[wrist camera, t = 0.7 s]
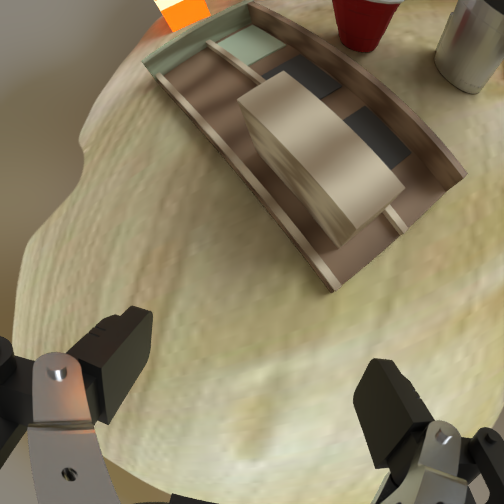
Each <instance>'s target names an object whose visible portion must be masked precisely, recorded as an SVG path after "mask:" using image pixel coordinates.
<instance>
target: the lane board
mask: <svg viewBox="0 0 504 504" xmlns="http://www.w3.org/2000/svg"><path fill="white" fill-rule="evenodd" d="M251 25H254V26H256V27H258V28H260V29H261V30H263V31H265V32H266V33H268V34H270V35H271V36H273V37H275V38H276V39H278V40H279V41H281V42H283V43H284V44H286V46H285V47H283V48H281V49H279V50H277V51H276V52H274V53H272V54H270V55H268V56H266V57H264V58H263V59H261V60H259V61H257V62H256V63H254V64H252V65H250V66H249V67H248V66H247V65H246V64H244V63H243V62H242V61H240V60H239V59H238V58H236V57H235V56H233V55H232V54H231V53H229V52H228V51H226V50H225V49H223V48H222V47H221V46H219V45H218V43H219V42H221V41H223V40H225V39H226V38H228V37H230V36H232V35H234V34H236V33H237V32H239V31H241V30H243V29H245V28H247V27H249V26H251ZM299 54H301V55H302V56H304V57H305V58H306V59H308V60H309V61H311V62H312V63H313V64H315V65H316V66H317V67H319V68H320V69H321V70H323V71H324V72H325V73H327V74H328V75H329V76H331V77H332V78H333V79H334V80H336V81H337V82H338V83H339V84H341V85H342V87H341V88H340V89H338V90H336V91H335V92H333V93H331V94H330V95H328V96H326V97H325V98H323V99H321V100H320V101H322V102H323V103H324V104H325V105H326V106H327V107H328V108H330V109H331V110H332V111H333V112H334V113H335V114H336V115H337V116H338V117H339V118H340V119H342V120H343V119H345V118H346V117H348V116H350V115H351V114H353V113H354V112H356V111H357V110H359V109H360V108H362V107H363V106H366V107H367V108H368V109H369V110H370V111H372V112H373V113H374V114H375V115H376V116H377V117H378V118H379V119H380V120H381V121H382V122H383V123H384V124H385V125H386V126H387V127H388V128H389V129H390V130H391V131H392V132H393V133H394V134H395V135H396V136H397V137H398V138H399V139H400V140H401V141H402V142H403V143H404V145H405V146H406V147H407V148H408V149H409V150H410V151H411V152H412V153H411V154H410V155H409V156H408V157H406V158H405V159H404V160H403V161H402V162H400V163H399V164H398V165H397V166H395V167H394V168H393V169H392V170H391V171H392V172H393V174H394V175H395V176H396V177H397V178H398V179H399V181H400V182H401V183H402V184H403V185H404V187H405V189H404V190H403V191H402V192H401V193H400V194H399V195H398V196H397V197H396V198H395V199H394V200H393V201H392V202H391V203H390V204H389V205H388V206H387V207H386V208H385V209H384V211H383V212H382V213H381V214H380V215H379V216H378V217H377V218H376V219H374V220H373V221H372V222H371V223H370V224H369V225H367V226H366V227H365V228H364V229H363V230H361V231H360V232H359V233H358V234H357V235H355V236H354V237H353V238H352V239H350V240H349V241H348V242H347V243H346V244H344V245H343V246H342V247H341V248H339V249H338V248H337V247H336V246H335V244H334V243H333V242H332V241H331V239H330V238H329V237H328V235H327V234H326V233H325V232H324V230H323V229H322V228H321V227H320V225H319V224H318V223H317V222H316V221H315V219H314V218H313V217H312V216H311V214H310V213H309V212H308V211H307V210H306V208H305V207H304V206H303V205H302V204H301V202H300V201H299V200H298V199H297V198H296V196H295V195H294V194H293V193H292V192H291V191H290V189H289V188H288V187H287V186H286V185H285V184H284V182H283V181H282V180H281V179H280V178H279V177H278V176H277V174H276V173H275V172H274V171H273V170H272V169H271V168H270V167H269V165H268V164H267V163H266V162H265V161H264V160H263V159H262V158H261V156H260V155H259V154H258V153H257V152H256V150H255V147H254V144H253V142H252V139H251V136H250V133H249V131H248V128H247V125H246V123H245V120H244V117H243V115H242V112H241V109H240V107H239V104H238V102H237V99H238V98H240V97H241V96H243V95H244V94H246V93H247V92H249V91H250V90H252V89H254V88H255V87H257V86H258V85H260V84H262V83H263V82H265V81H266V80H265V79H264V78H262V77H261V75H263V74H265V73H267V72H268V71H270V70H272V69H273V68H275V67H277V66H279V65H281V64H282V63H284V62H286V61H288V60H290V59H292V58H293V57H295V56H297V55H299ZM142 63H143V64H144V65H145V67H146V68H147V69H148V71H149V72H150V73H151V75H152V76H153V77H154V79H155V80H156V81H157V82H158V83H159V85H160V86H161V87H162V88H163V89H164V90H165V91H166V92H167V93H168V94H169V96H170V97H171V98H172V99H173V100H174V101H175V102H176V103H177V104H178V106H179V107H180V108H181V109H182V110H183V111H184V112H185V113H186V115H187V116H188V117H189V118H190V119H191V120H192V121H193V123H194V124H195V125H196V126H197V127H198V128H199V129H200V131H201V132H202V133H203V134H204V135H205V136H206V137H207V139H208V140H209V141H210V142H211V143H212V144H213V146H214V147H215V148H216V149H217V150H218V151H219V153H220V154H221V155H222V156H223V157H224V159H225V160H226V161H227V162H228V163H229V164H230V166H231V167H232V168H233V169H234V170H235V172H236V173H237V174H238V175H239V176H240V178H241V179H242V180H243V181H244V182H245V184H246V185H247V186H248V187H249V189H250V190H251V191H252V192H253V193H254V195H255V196H256V197H257V198H258V200H259V201H260V202H261V203H262V205H263V206H264V207H265V208H266V209H267V211H268V212H269V213H270V214H271V216H272V217H273V218H274V219H275V221H276V222H277V223H278V224H279V226H280V227H281V228H282V230H283V231H284V232H285V233H286V235H287V236H288V237H289V238H290V240H291V241H292V242H293V244H294V245H295V246H296V247H297V249H298V250H299V251H300V253H301V254H302V255H303V256H304V258H305V259H306V260H307V262H308V263H309V264H310V265H311V267H312V268H313V269H314V271H315V272H316V273H317V275H318V276H319V277H320V279H321V280H322V281H323V283H324V284H325V285H326V287H327V288H328V289H329V291H330V292H331V293H333V292H334V291H337V290H338V289H339V288H340V287H342V285H343V284H344V283H345V282H346V281H348V280H349V279H350V278H351V277H352V276H354V275H355V274H356V273H357V272H359V271H360V270H361V269H362V268H363V267H365V266H366V265H367V264H368V263H369V262H370V261H372V260H373V259H374V258H375V257H376V256H377V255H379V254H380V253H381V252H382V251H383V250H384V249H386V248H387V247H388V246H389V245H390V244H391V243H392V242H393V241H395V240H396V239H397V238H398V237H399V236H400V235H402V234H404V233H405V232H406V231H407V230H408V229H409V227H410V226H411V225H412V224H413V223H414V222H415V221H416V220H417V219H419V218H420V217H421V216H422V215H423V214H424V213H425V212H426V211H427V210H428V209H429V208H430V207H431V206H432V205H433V204H434V203H435V202H436V201H437V200H438V199H439V198H440V197H441V196H442V195H443V194H444V193H445V192H446V191H448V190H449V189H450V188H452V187H453V186H454V185H455V184H457V183H458V182H459V181H461V180H462V179H463V178H464V177H465V176H466V175H467V174H468V173H467V172H466V170H465V169H464V168H463V166H462V165H461V164H460V163H459V161H458V160H457V159H456V158H455V156H454V155H453V154H452V153H451V152H450V150H449V149H448V148H447V147H446V146H445V145H444V143H443V142H442V141H441V140H440V139H439V138H438V137H437V135H436V134H435V133H434V132H433V131H432V130H431V129H430V128H429V127H428V126H427V125H426V124H425V123H424V122H423V121H422V120H421V118H420V117H419V116H418V115H417V114H416V113H415V112H413V111H412V110H411V109H410V108H409V107H408V106H407V105H406V104H405V103H404V102H403V101H402V100H401V99H400V98H399V97H398V96H397V95H395V94H394V93H393V92H392V91H391V90H390V89H389V88H387V87H386V86H385V85H384V84H383V83H382V82H380V81H379V80H378V79H377V78H376V77H374V76H373V75H372V74H371V73H369V72H368V71H367V70H366V69H364V68H363V67H362V66H360V65H359V64H358V63H356V62H355V61H354V60H352V59H351V58H350V57H348V56H347V55H345V54H344V53H343V52H341V51H340V50H338V49H337V48H335V47H334V46H332V45H331V44H329V43H328V42H326V41H325V40H323V39H322V38H320V37H319V36H317V35H315V34H314V33H312V32H310V31H309V30H307V29H305V28H304V27H302V26H300V25H298V24H297V23H295V22H293V21H291V20H289V19H288V18H286V17H284V16H282V15H280V14H278V13H276V12H274V11H272V10H270V9H268V8H266V7H264V6H262V5H260V4H257V3H255V2H254V0H244V1H242V2H240V3H238V4H236V5H233V6H231V7H229V8H227V9H225V10H223V11H221V12H219V13H217V14H215V15H213V16H211V17H209V18H208V19H206V20H204V21H202V22H200V23H199V24H197V25H195V26H193V27H192V28H190V29H188V30H187V31H185V32H183V33H182V34H180V35H178V36H177V37H175V38H174V39H172V40H170V41H169V42H167V43H166V44H164V45H163V46H161V47H160V48H158V49H157V50H156V51H154V52H153V53H151V54H150V55H149V56H147V57H146V58H144V59H143V60H142Z"/></svg>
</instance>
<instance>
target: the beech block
mask: <svg viewBox="0 0 504 504" xmlns="http://www.w3.org/2000/svg"><path fill="white" fill-rule="evenodd" d="M237 102H238V104H239V107H240V109H241V112H242V115H243V117H244V120H245V123H246V125H247V128H248V131H249V133H250V136H251V139H252V142H253V144H254V147H255V150H256V152H257V153H258V154H259V155H260V156H261V158H262V159H263V160H264V161H265V162H266V163H267V164H268V165H269V167H270V168H271V169H272V170H273V171H274V172H275V173H276V174H277V176H278V177H279V178H280V179H281V180H282V181H283V182H284V184H285V185H286V186H287V187H288V188H289V189H290V191H291V192H292V193H293V194H294V195H295V196H296V198H297V199H298V200H299V201H300V202H301V204H302V205H303V206H304V207H305V208H306V210H307V211H308V212H309V213H310V214H311V216H312V217H313V218H314V219H315V221H316V222H317V223H318V224H319V225H320V227H321V228H322V229H323V230H324V232H325V233H326V234H327V235H328V237H329V238H330V239H331V241H332V242H333V243H334V244H335V246H336V247H337V248H338V249H339V248H341V247H342V246H343V245H344V244H346V243H347V242H348V241H349V240H350V239H352V238H353V237H354V236H355V235H357V234H358V233H359V232H360V231H361V230H363V229H364V228H365V227H366V226H367V225H369V224H370V223H371V222H372V221H373V220H374V219H376V218H377V217H378V216H379V215H380V214H381V213H382V212H383V211H384V209H385V208H386V207H387V206H388V205H389V204H390V203H391V202H392V201H393V200H394V199H395V198H396V197H397V196H398V195H399V194H400V193H401V192H402V191H403V190H404V189H405V187H404V185H403V184H402V183H401V182H400V181H399V179H398V178H397V177H396V176H395V175H394V174H393V172H392V171H391V170H390V169H389V168H388V167H387V166H386V165H385V163H384V162H383V161H382V160H381V159H380V158H379V157H378V156H377V155H376V154H375V153H374V151H373V150H372V149H371V148H370V147H369V146H368V145H367V144H366V143H365V142H364V141H363V140H362V139H361V138H360V137H359V136H358V135H357V134H356V133H355V132H354V131H353V130H352V129H351V128H350V127H349V126H348V125H347V124H346V123H345V122H344V121H343V120H342V119H340V118H339V117H338V116H337V115H336V114H335V113H334V112H333V111H332V110H331V109H330V108H328V107H327V106H326V105H325V104H324V103H323V102H322V101H320V100H319V99H318V98H317V97H316V96H315V95H313V94H312V93H311V92H310V91H309V90H308V89H306V88H305V87H304V86H303V85H301V84H300V83H299V82H298V81H296V80H295V79H294V78H293V77H291V76H290V75H289V74H287V73H286V72H285V71H282V72H280V73H278V74H277V75H275V76H273V77H272V78H270V79H268V80H267V81H265V82H263V83H262V84H260V85H258V86H257V87H255V88H254V89H252V90H250V91H249V92H247V93H246V94H244V95H243V96H241V97H240V98H238V99H237Z"/></svg>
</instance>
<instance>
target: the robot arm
mask: <svg viewBox="0 0 504 504" xmlns="http://www.w3.org/2000/svg"><path fill="white" fill-rule="evenodd" d="M436 51H437V53H436V55H435V64H436V66H437V68H438V70H439V71H440V73H441V74H442V75H443V76H444V77H445V78H446V79H447V80H448V81H449V82H450V83H452V84H453V85H454V86H456V87H457V88H459V89H461V90H462V91H465V92H467V93H471V94H477V93H479V92H480V91H481V90H482V88H483V87H484V86H485V84H486V83H487V82H488V80H489V79H490V78H491V76H492V75H493V73H494V72H495V70H496V69H497V68H498V66H499V65H500V63H501V62H502V60H503V59H504V0H458V2H457V5H456V8H455V10H454V12H452V13H451V14H450V16H449V19H448V21H447V24H446V26H445V29H444V31H443V34H442V36H441V38H440V41H439V43H438V45H437V48H436ZM152 322H153V314H152V312H151V311H148V310H145V309H142V308H138V307H135V306H130V307H129V308H128V309H127V310H126V311H125V312H124V313H123V314H122V315H121V316H119V315H116V314H115V315H112V316H109V317H107V318H104V319H102V320H101V321H100V322H99V323H98V324H97V325H96V326H95V328H92V329H91V330H90V331H89V333H87V334H86V335H85V336H84V337H83V338H81V339H80V340H79V341H78V342H77V343H76V344H75V345H74V346H73V347H72V348H71V349H70V350H69V351H67V352H66V353H60V352H52V353H47V354H44V355H42V356H40V357H39V358H38V359H37V360H36V361H33V360H29V359H25V358H22V357H18V356H15V355H14V352H13V347H12V344H11V343H10V342H9V340H7V339H6V338H4V337H1V336H0V469H1V467H2V466H3V465H4V463H5V462H6V460H7V458H8V457H9V455H10V454H11V452H12V451H13V449H14V448H15V447H16V445H17V444H18V442H19V441H20V439H21V438H22V436H23V435H24V434H25V432H26V431H28V444H29V453H30V461H31V468H32V474H33V480H34V486H35V490H36V495H37V500H38V504H121V503H120V500H119V498H118V496H117V493H116V491H115V489H114V486H113V484H112V481H111V478H110V476H109V473H108V470H107V467H106V465H105V462H104V459H103V456H102V453H101V449H100V446H99V443H98V440H97V436H96V433H95V429H94V425H95V423H96V422H97V420H98V421H100V422H103V423H105V424H107V425H109V424H110V422H111V420H112V419H113V417H114V415H115V414H116V412H117V410H118V409H119V407H120V405H121V404H122V402H123V400H124V399H125V397H126V395H127V394H128V392H129V391H130V389H131V387H132V386H133V384H134V383H135V381H136V379H137V378H138V376H139V374H140V373H141V371H142V370H143V368H144V367H145V365H146V363H147V361H148V358H149V354H150V348H151V334H152ZM353 404H354V408H355V410H356V413H357V416H358V419H359V422H360V425H361V427H362V430H363V433H364V436H365V439H366V442H367V445H368V448H369V451H370V454H371V457H372V460H373V463H374V466H375V469H380V468H389V469H390V471H389V472H388V473H387V474H386V476H385V477H384V479H383V481H382V483H381V485H380V487H379V489H378V491H377V493H376V495H375V497H374V499H373V500H372V502H371V504H476V502H475V500H474V498H473V495H472V493H471V491H470V488H469V487H468V485H469V484H470V483H471V482H472V481H473V480H474V479H475V478H476V477H477V476H478V475H479V474H480V473H481V474H482V476H483V478H484V480H485V482H486V484H487V487H488V489H489V491H490V496H489V499H488V501H487V502H486V503H485V504H504V441H503V439H502V437H501V436H500V435H499V434H498V433H497V432H496V431H494V430H493V429H491V428H487V427H483V428H480V429H479V430H478V431H477V433H476V434H475V435H474V436H473V438H464V437H461V435H460V433H459V432H458V430H457V429H456V428H455V427H454V426H453V425H451V424H450V423H447V422H445V421H440V420H437V421H435V420H434V418H433V417H432V415H431V413H430V412H429V410H428V409H427V407H426V405H425V404H424V402H423V401H422V399H420V396H419V394H418V393H417V391H415V388H414V387H413V385H412V384H411V382H410V381H409V380H408V379H407V378H406V377H404V376H403V375H402V374H401V372H400V371H399V369H398V368H397V366H396V365H395V363H394V362H393V361H392V360H387V359H377V358H374V359H372V360H371V361H370V362H369V364H368V366H367V368H366V370H365V372H364V374H363V376H362V378H361V380H360V382H359V384H358V386H357V388H356V390H355V392H354V396H353ZM27 429H28V430H27ZM136 504H217V503H212V502H206V501H202V500H197V499H193V498H188V497H184V496H180V495H176V494H173V493H172V495H171V499H170V502H169V503H167V502H166V503H165V502H144V503H136Z"/></svg>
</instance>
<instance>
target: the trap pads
mask: <svg viewBox="0 0 504 504" xmlns="http://www.w3.org/2000/svg"><path fill="white" fill-rule="evenodd" d="M282 71H285V72H286V73H287V74H289V75H290V76H291V77H293V78H294V79H295V80H296V81H298V82H299V83H300V84H301V85H303V86H304V87H305V88H306V89H308V90H309V91H310V92H311V93H312V94H313V95H315V96H316V97H317V98H318V99H319V100H321V99H323V98H325V97H326V96H328V95H330V94H331V93H333V92H335V91H336V90H338V89H340V88H341V87H342V85H341V84H339V83H338V82H337V81H336V80H334V79H333V78H332V77H331V76H329V75H328V74H327V73H325V72H324V71H323V70H321V69H320V68H319V67H317V66H316V65H315V64H313V63H312V62H311V61H309V60H308V59H306V58H305V57H304V56H302V55H301V54H299V55H297V56H295V57H293V58H292V59H290V60H288V61H286V62H284V63H282V64H281V65H279V66H277V67H275V68H273V69H272V70H270V71H268V72H267V73H265V74H263V75H261V77H262V78H264V79H265V80H266V81H267V80H268V79H270V78H272V77H273V76H275V75H277V74H278V73H280V72H282ZM343 121H344V122H345V123H346V124H347V125H348V126H349V127H350V128H351V129H352V130H353V131H354V132H355V133H356V134H357V135H358V136H359V137H360V138H361V139H362V140H363V141H364V142H365V143H366V144H367V145H368V146H369V147H370V148H371V149H372V150H373V151H374V153H375V154H376V155H377V156H378V157H379V158H380V159H381V160H382V161H383V162H384V163H385V165H386V166H387V167H388V168H389V169H390V170H392V169H393V168H394V167H395V166H397V165H398V164H399V163H400V162H402V161H403V160H404V159H405V158H406V157H408V156H409V155H410V154H411V153H412V152H411V151H410V150H409V149H408V148H407V147H406V146H405V145H404V143H403V142H402V141H401V140H400V139H399V138H398V137H397V136H396V135H395V134H394V133H393V132H392V131H391V130H390V129H389V128H388V127H387V126H386V125H385V124H384V123H383V122H382V121H381V120H380V119H379V118H378V117H377V116H376V115H375V114H374V113H373V112H372V111H370V110H369V109H368V108H367V107H366V106H363V107H362V108H360V109H359V110H357V111H356V112H354V113H353V114H351V115H350V116H348V117H346V118H345V119H343Z"/></svg>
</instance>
